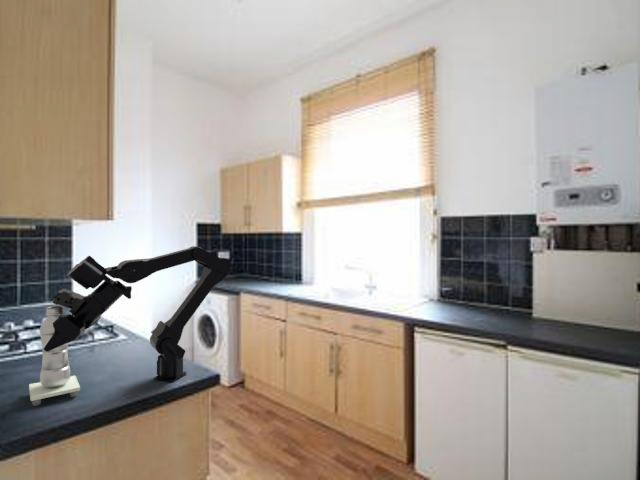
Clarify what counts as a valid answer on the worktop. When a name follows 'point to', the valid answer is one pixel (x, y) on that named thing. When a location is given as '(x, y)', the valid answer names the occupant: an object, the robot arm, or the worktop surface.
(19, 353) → the worktop surface
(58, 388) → the plate
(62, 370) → the plastic bottle
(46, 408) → the worktop surface
